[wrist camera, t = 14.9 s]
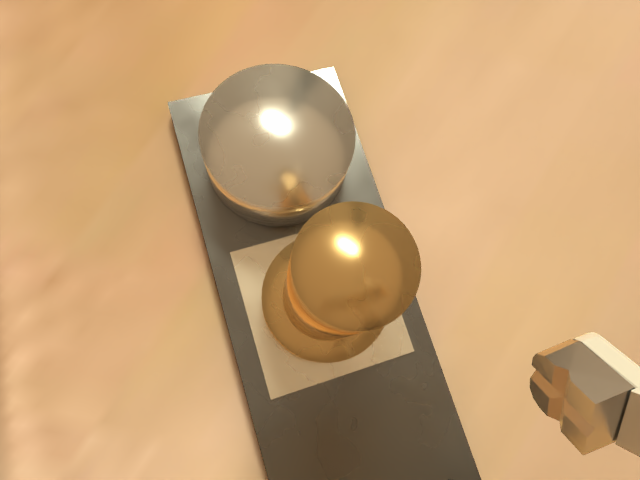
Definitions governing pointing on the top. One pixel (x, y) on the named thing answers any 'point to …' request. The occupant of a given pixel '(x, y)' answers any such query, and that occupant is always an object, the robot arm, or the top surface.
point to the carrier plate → (260, 250)
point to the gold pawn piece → (340, 282)
